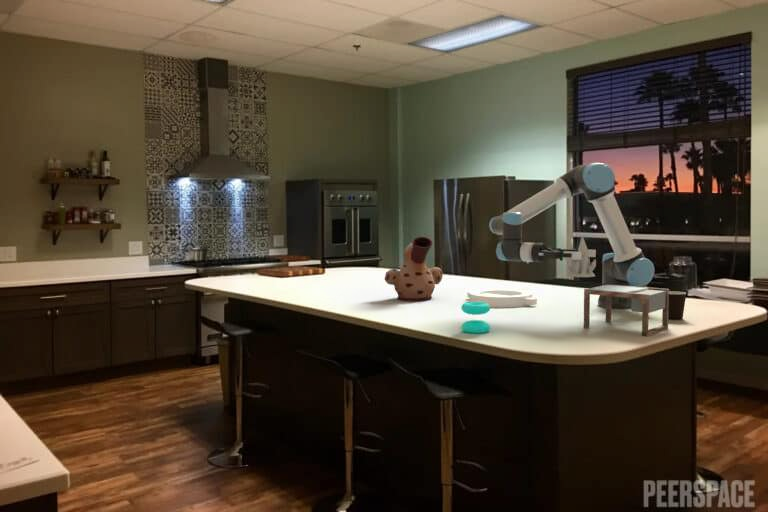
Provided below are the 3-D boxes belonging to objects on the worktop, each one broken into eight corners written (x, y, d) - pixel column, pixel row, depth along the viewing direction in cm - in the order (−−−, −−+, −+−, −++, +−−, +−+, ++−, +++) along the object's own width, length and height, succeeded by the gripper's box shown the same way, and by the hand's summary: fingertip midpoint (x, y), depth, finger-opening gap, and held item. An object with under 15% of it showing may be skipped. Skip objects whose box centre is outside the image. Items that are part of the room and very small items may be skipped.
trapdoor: (587, 306, 234) (587, 288, 233) (606, 302, 244) (606, 284, 244) (648, 313, 218) (648, 293, 218) (665, 307, 229) (666, 288, 228)
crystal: (587, 273, 248) (587, 234, 247) (600, 277, 235) (600, 235, 234) (561, 274, 248) (561, 234, 247) (573, 277, 235) (573, 236, 233)
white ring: (538, 307, 283) (538, 296, 282) (473, 308, 283) (473, 297, 283) (525, 298, 311) (525, 288, 310) (466, 299, 311) (466, 289, 311)
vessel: (431, 294, 326) (430, 234, 324) (455, 300, 306) (454, 236, 304) (379, 298, 313) (378, 236, 311) (400, 304, 294) (400, 238, 291)
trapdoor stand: (583, 328, 233) (584, 289, 232) (607, 321, 246) (607, 284, 245) (646, 336, 217) (647, 294, 216) (668, 328, 231) (668, 289, 230)
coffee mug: (684, 321, 244) (684, 294, 243) (659, 319, 249) (659, 293, 248) (688, 316, 254) (688, 291, 253) (664, 314, 258) (665, 289, 258)
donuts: (480, 300, 236) (495, 304, 226) (480, 327, 236) (495, 332, 227) (456, 302, 232) (470, 306, 222) (456, 330, 232) (470, 335, 223)
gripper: (548, 259, 262) (601, 262, 248) (519, 264, 243) (574, 267, 230) (548, 241, 261) (601, 242, 247) (519, 244, 243) (574, 246, 229)
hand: (588, 254), depth 238 cm, fingers closed on crystal, 12 cm apart
